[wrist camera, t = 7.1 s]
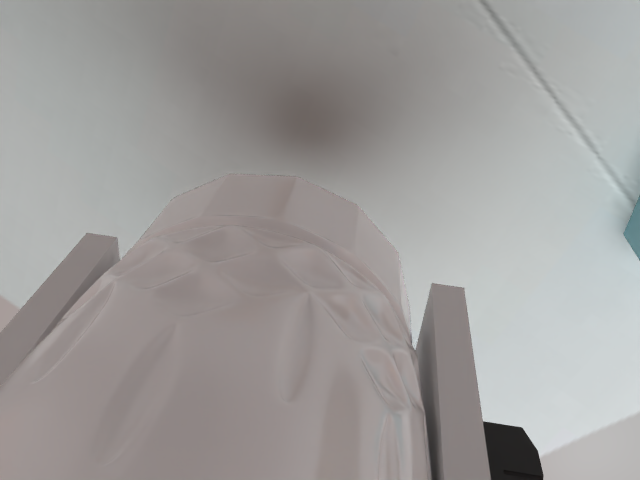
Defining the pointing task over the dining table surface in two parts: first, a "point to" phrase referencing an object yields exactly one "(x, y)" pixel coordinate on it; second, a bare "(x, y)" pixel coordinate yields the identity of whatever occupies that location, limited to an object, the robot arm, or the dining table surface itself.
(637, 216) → the dusty teal block
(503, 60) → the dining table surface
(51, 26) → the dining table surface
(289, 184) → the white cup
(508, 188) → the dining table surface
